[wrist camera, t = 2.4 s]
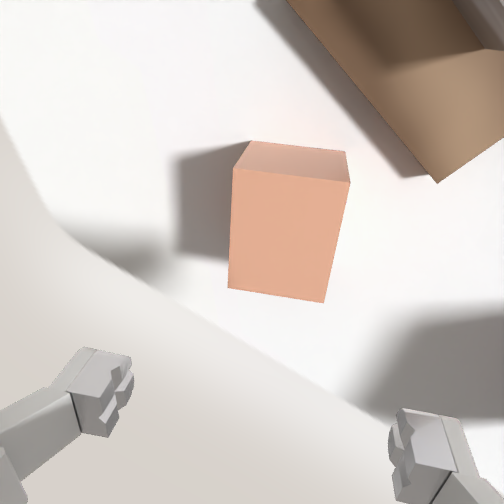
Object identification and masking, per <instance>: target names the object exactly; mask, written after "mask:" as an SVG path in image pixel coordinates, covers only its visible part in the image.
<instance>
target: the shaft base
mask: <svg viewBox="0 0 504 504" xmlns="http://www.w3.org/2000/svg"><path fill="white" fill-rule="evenodd" d="M286 1H287V2H288V3H289V4H290V6H291V7H292V8H293V9H294V10H295V12H296V13H297V14H298V15H299V17H300V18H301V19H302V20H303V21H304V23H305V24H306V25H307V26H308V27H309V29H310V30H311V31H312V32H313V34H314V35H315V36H316V37H317V38H318V40H319V41H320V42H321V43H322V45H323V46H324V47H325V48H326V49H327V51H328V52H329V53H330V54H331V55H332V57H333V58H334V59H335V60H336V62H337V63H338V64H339V65H340V66H341V68H342V69H343V70H344V71H345V72H346V74H347V75H348V76H349V77H350V79H351V80H352V81H353V82H354V83H355V85H356V86H357V87H358V88H359V90H360V91H361V92H362V93H363V94H364V96H365V97H366V98H367V99H368V100H369V102H370V103H371V104H372V105H373V107H374V108H375V109H376V110H377V111H378V113H379V114H380V115H381V116H382V118H383V119H384V120H385V121H386V122H387V124H388V125H389V126H390V127H391V128H392V130H393V131H394V132H395V133H396V135H397V136H398V137H399V138H400V139H401V141H402V142H403V143H404V144H405V145H406V147H407V148H408V149H409V150H410V152H411V153H412V154H413V155H414V156H415V158H416V159H417V160H418V161H419V163H420V164H421V165H422V166H423V167H424V169H425V170H426V171H427V172H428V173H429V175H430V176H431V177H432V178H433V180H434V181H435V182H436V183H437V184H438V183H439V182H440V181H442V180H443V179H445V178H446V177H448V176H449V175H450V174H452V173H453V172H455V171H456V170H458V169H459V168H461V167H462V166H463V165H465V164H466V163H468V162H469V161H471V160H472V159H473V158H475V157H476V156H478V155H479V154H481V153H482V152H483V151H485V150H486V149H488V148H489V147H491V146H492V145H494V144H495V143H496V142H498V141H499V140H501V139H502V138H504V0H286Z"/></svg>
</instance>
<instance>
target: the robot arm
mask: <svg viewBox="0 0 504 504" xmlns="http://www.w3.org/2000/svg"><path fill="white" fill-rule="evenodd" d="M131 365H132V361H131V357H129V356H125V355H120V354H115V353H111V352H106V351H102V350H97V349H92V348H87V347H83V348H81V349H79V350H78V351H77V353H76V354H75V355H74V356H73V358H72V359H71V360H70V361H69V363H68V364H67V365H66V367H65V368H64V369H63V370H62V372H61V373H60V374H59V375H58V376H57V378H56V379H55V380H54V382H53V383H52V384H51V385H50V386H49V388H42V389H40V390H38V391H36V392H34V393H32V394H30V395H29V396H27V397H25V398H23V399H21V400H19V401H17V402H15V403H14V404H12V405H10V406H8V407H6V408H4V409H2V410H0V504H26V503H27V502H28V498H27V494H26V492H25V490H24V488H23V486H22V484H21V481H22V480H23V479H25V477H27V476H28V475H30V474H31V473H32V472H34V471H35V470H36V469H37V468H39V467H40V466H41V465H42V464H44V463H45V462H46V461H48V460H49V459H50V458H52V457H53V456H54V455H55V454H57V453H58V452H59V451H60V450H62V449H63V448H64V447H65V446H67V445H68V444H70V443H71V442H72V441H73V440H75V439H76V438H77V437H78V436H80V435H81V433H86V434H91V435H97V436H102V437H107V438H108V437H109V435H110V434H111V432H112V430H113V428H114V426H115V425H116V423H117V421H118V419H119V414H118V410H119V409H121V408H122V407H124V406H125V405H126V404H127V402H128V400H129V399H130V397H131V393H132V390H133V387H134V376H133V373H132V372H131V371H130V370H129V369H130V367H131ZM396 417H397V422H398V423H396V424H394V425H392V427H391V430H390V432H389V439H388V452H389V459H390V461H391V462H392V463H393V465H394V466H395V467H396V468H395V470H394V472H393V474H392V480H393V486H394V492H395V499H396V501H400V502H404V503H408V504H504V498H503V497H502V496H501V495H500V494H499V493H498V492H497V490H496V489H495V488H494V487H493V486H492V485H491V484H490V483H489V482H488V481H487V480H486V479H484V478H480V476H479V473H478V470H477V467H476V465H475V462H474V459H473V456H472V453H471V450H470V448H469V445H468V442H467V439H466V436H465V434H464V431H463V428H462V425H461V422H460V421H459V420H458V419H457V418H453V417H447V416H442V415H437V414H434V413H428V412H422V411H417V410H411V409H405V408H401V409H400V410H399V411H398V413H397V415H396Z"/></svg>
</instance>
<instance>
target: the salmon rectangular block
mask: <svg viewBox="0 0 504 504" xmlns="http://www.w3.org/2000/svg"><path fill="white" fill-rule="evenodd" d="M349 187H350V178H349V172H348V166H347V160H346V154H345V152H344V151H335V150H327V149H318V148H310V147H301V146H293V145H284V144H276V143H267V142H258V141H250V143H249V144H248V146H247V148H246V149H245V151H244V152H243V154H242V155H241V157H240V158H239V160H238V161H237V163H236V164H235V166H234V167H233V180H232V202H231V224H230V246H229V269H228V288H232V289H238V290H244V291H250V292H257V293H263V294H269V295H275V296H282V297H288V298H294V299H300V300H307V301H313V302H319V303H324V299H325V295H326V290H327V286H328V281H329V277H330V272H331V268H332V263H333V259H334V254H335V250H336V245H337V241H338V236H339V232H340V227H341V223H342V218H343V214H344V209H345V205H346V200H347V196H348V191H349Z"/></svg>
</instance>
